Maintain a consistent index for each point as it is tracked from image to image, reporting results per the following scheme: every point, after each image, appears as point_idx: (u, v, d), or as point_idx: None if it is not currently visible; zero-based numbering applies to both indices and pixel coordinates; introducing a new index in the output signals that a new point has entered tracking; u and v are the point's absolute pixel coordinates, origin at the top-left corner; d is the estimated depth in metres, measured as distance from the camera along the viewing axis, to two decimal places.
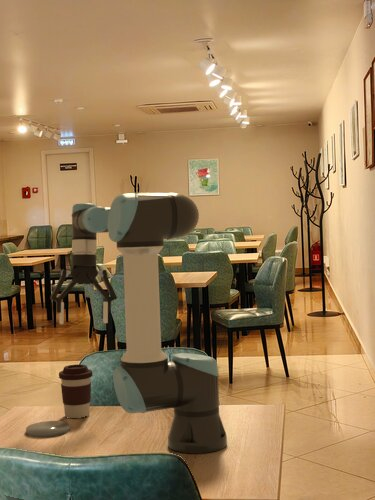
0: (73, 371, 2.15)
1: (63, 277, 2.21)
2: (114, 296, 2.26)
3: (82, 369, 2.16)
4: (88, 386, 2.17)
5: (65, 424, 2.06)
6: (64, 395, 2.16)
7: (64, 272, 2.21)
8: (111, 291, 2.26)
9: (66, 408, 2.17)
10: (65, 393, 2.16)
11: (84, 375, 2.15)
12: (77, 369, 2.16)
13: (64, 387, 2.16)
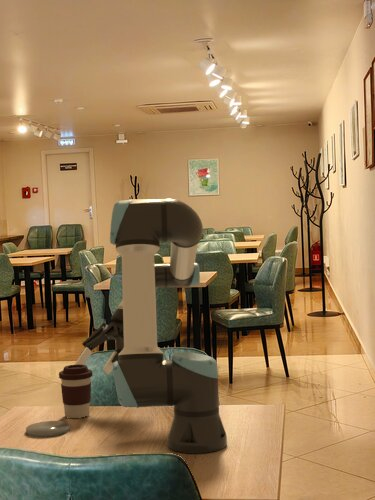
0: (73, 371, 2.15)
1: (99, 328, 2.35)
2: (122, 348, 2.21)
3: (82, 369, 2.16)
4: (88, 386, 2.17)
5: (65, 424, 2.06)
6: (64, 395, 2.16)
7: (102, 324, 2.35)
8: (123, 343, 2.22)
9: (66, 408, 2.17)
10: (65, 393, 2.16)
11: (84, 375, 2.15)
12: (77, 369, 2.16)
13: (64, 387, 2.16)
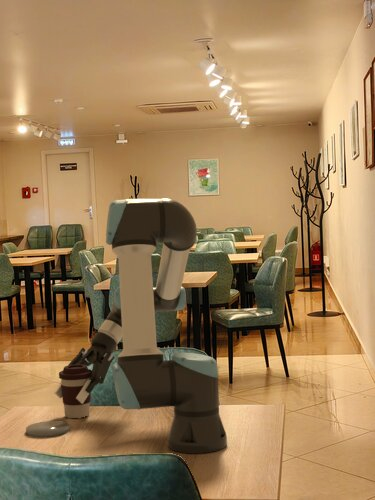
0: (73, 371, 2.15)
1: (79, 354, 2.28)
2: (97, 376, 2.15)
3: (82, 369, 2.16)
4: None
5: (65, 424, 2.06)
6: (64, 395, 2.16)
7: (81, 350, 2.28)
8: (99, 371, 2.16)
9: (66, 408, 2.17)
10: (65, 393, 2.16)
11: (84, 375, 2.15)
12: (77, 369, 2.16)
13: (64, 387, 2.16)
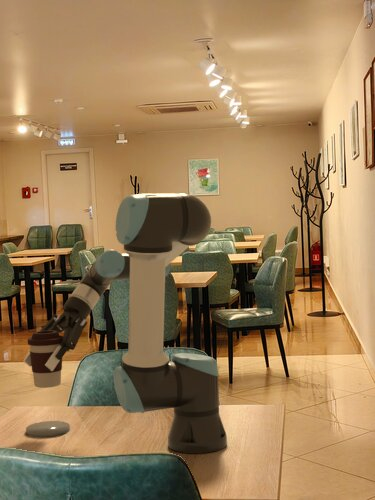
0: (42, 336, 2.00)
1: (50, 320, 2.13)
2: (68, 341, 2.00)
3: (52, 335, 2.01)
4: None
5: (65, 424, 2.06)
6: (33, 362, 2.01)
7: (53, 316, 2.13)
8: (70, 336, 2.01)
9: (35, 376, 2.02)
10: (34, 360, 2.01)
11: (54, 340, 2.00)
12: (47, 334, 2.01)
13: (33, 354, 2.01)
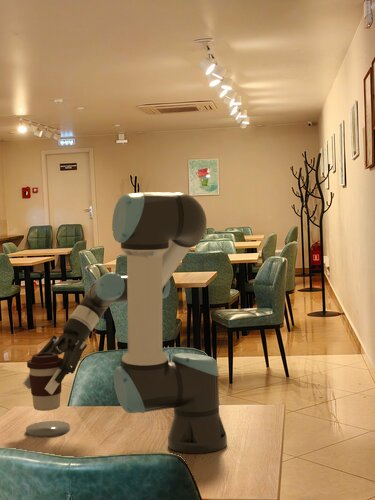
0: (41, 359, 2.00)
1: (50, 342, 2.13)
2: (67, 365, 2.00)
3: (52, 358, 2.01)
4: None
5: (65, 424, 2.06)
6: (32, 385, 2.01)
7: (52, 337, 2.13)
8: (69, 360, 2.01)
9: (34, 399, 2.02)
10: (33, 383, 2.01)
11: (54, 364, 2.00)
12: (46, 357, 2.01)
13: (32, 377, 2.01)
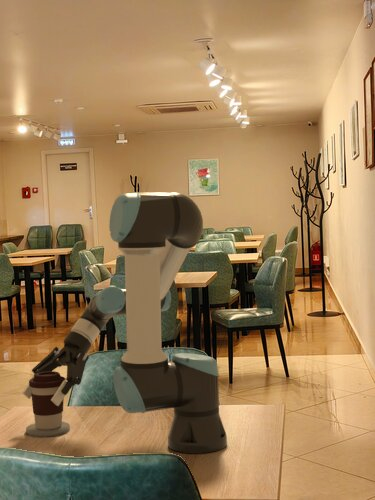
0: (44, 378, 2.00)
1: (51, 353, 2.13)
2: (73, 376, 1.99)
3: (54, 377, 2.01)
4: None
5: (65, 424, 2.06)
6: (34, 404, 2.01)
7: (54, 349, 2.13)
8: (75, 371, 2.00)
9: (36, 418, 2.01)
10: (35, 402, 2.00)
11: (56, 383, 2.00)
12: (48, 376, 2.00)
13: (34, 396, 2.00)
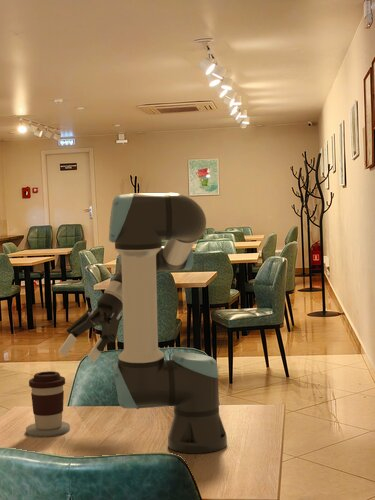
0: (43, 378, 2.00)
1: (85, 314, 2.22)
2: (109, 334, 2.08)
3: (54, 377, 2.01)
4: (60, 395, 2.02)
5: (65, 424, 2.06)
6: (34, 405, 2.01)
7: (88, 310, 2.22)
8: (109, 329, 2.09)
9: (36, 418, 2.01)
10: (35, 402, 2.00)
11: (56, 383, 2.00)
12: (48, 377, 2.00)
13: (34, 396, 2.00)
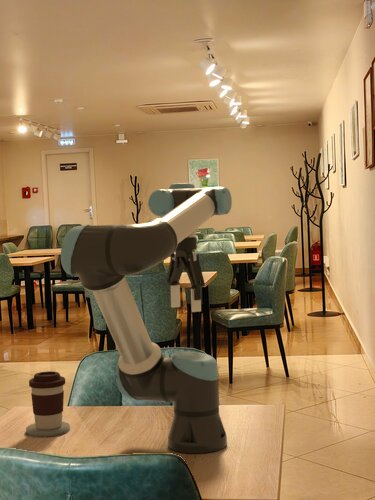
0: (44, 378, 2.00)
1: (171, 260, 2.18)
2: (195, 283, 2.04)
3: (54, 377, 2.01)
4: (60, 395, 2.02)
5: (65, 424, 2.06)
6: (34, 404, 2.01)
7: (171, 255, 2.18)
8: (194, 278, 2.05)
9: (36, 418, 2.01)
10: (35, 402, 2.00)
11: (56, 383, 2.00)
12: (48, 377, 2.00)
13: (34, 396, 2.00)
